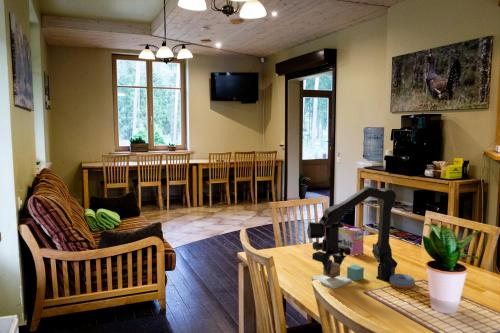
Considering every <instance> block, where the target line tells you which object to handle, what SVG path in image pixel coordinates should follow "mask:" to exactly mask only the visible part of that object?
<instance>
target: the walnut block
mask: <svg viewBox="0 0 500 333" xmlns="http://www.w3.org/2000/svg"><path fill="white" fill-rule="evenodd" d="M322 267H323V270H322V271H323V274H322V275H325V276H328V277H330V278H334V277H337V276H341V265H340V264H338V263H335V262H334V261H332V264H331V268H330V272H329V275H328V274H326V271H325V268H324V266H322Z"/></svg>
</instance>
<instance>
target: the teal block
mask: <svg viewBox="0 0 500 333" xmlns="http://www.w3.org/2000/svg"><path fill="white" fill-rule="evenodd" d="M346 269H347V270H346V271H347V272H346V278H348V279H351V280H352V281H354V282H357V281H361V280H362V279H364V278H365V276H364V270H365V267H364V266H361V265H356V264H353V265H352V264H351V265H349V266H347V267H346Z"/></svg>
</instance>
